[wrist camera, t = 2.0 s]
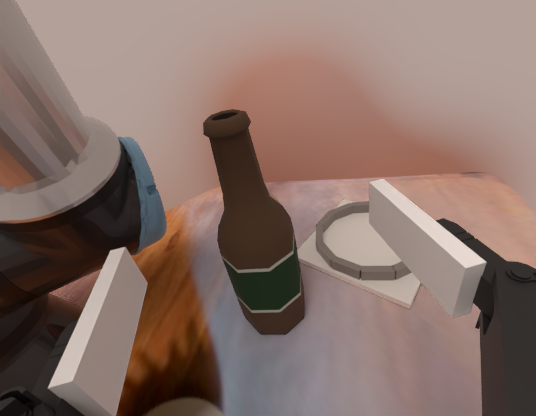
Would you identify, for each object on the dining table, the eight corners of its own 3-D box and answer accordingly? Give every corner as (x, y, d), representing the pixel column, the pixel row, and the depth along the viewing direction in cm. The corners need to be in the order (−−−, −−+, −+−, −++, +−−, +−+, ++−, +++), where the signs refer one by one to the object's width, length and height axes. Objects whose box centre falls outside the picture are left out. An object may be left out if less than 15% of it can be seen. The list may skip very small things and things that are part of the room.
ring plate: (293, 259, 41) (290, 247, 40) (343, 202, 50) (343, 191, 49) (409, 309, 31) (411, 296, 30) (446, 227, 41) (449, 215, 39)
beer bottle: (316, 293, 35) (291, 96, 22) (291, 349, 30) (237, 135, 17) (263, 277, 39) (215, 101, 26) (232, 325, 34) (151, 134, 21)
